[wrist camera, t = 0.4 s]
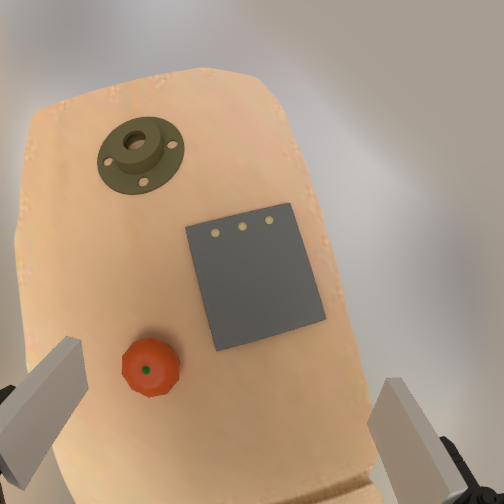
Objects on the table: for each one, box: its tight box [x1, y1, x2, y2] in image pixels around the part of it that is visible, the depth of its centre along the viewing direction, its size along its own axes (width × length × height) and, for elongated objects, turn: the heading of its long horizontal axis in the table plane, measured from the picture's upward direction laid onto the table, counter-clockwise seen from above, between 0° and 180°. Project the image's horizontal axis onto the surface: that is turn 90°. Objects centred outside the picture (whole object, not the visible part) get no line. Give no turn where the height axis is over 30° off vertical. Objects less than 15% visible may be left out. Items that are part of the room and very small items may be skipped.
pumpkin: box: [122, 338, 180, 397], centre depth 38 cm, size 8×8×7 cm
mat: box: [185, 203, 326, 351], centre depth 45 cm, size 18×16×1 cm
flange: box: [97, 117, 184, 195], centre depth 47 cm, size 5×15×15 cm
